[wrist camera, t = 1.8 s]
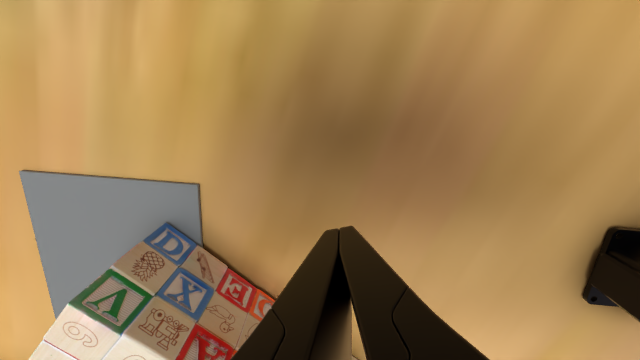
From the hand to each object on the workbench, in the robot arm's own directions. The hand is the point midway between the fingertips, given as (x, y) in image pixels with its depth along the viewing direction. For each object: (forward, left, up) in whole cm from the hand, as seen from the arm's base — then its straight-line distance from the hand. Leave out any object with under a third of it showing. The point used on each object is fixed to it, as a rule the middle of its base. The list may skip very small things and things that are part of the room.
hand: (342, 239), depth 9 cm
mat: (+17, +15, -13) cm, 27 cm away
